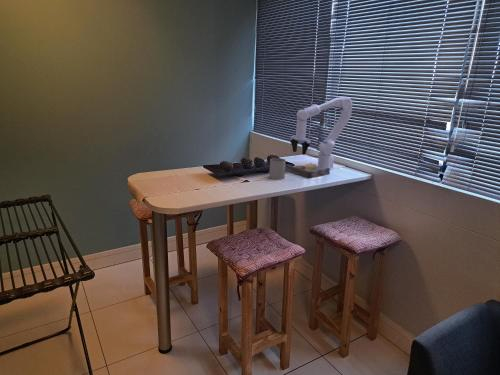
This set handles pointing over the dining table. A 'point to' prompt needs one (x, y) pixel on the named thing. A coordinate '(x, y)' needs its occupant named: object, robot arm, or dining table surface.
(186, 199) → the dining table surface
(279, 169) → the cup
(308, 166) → the block
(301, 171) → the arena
